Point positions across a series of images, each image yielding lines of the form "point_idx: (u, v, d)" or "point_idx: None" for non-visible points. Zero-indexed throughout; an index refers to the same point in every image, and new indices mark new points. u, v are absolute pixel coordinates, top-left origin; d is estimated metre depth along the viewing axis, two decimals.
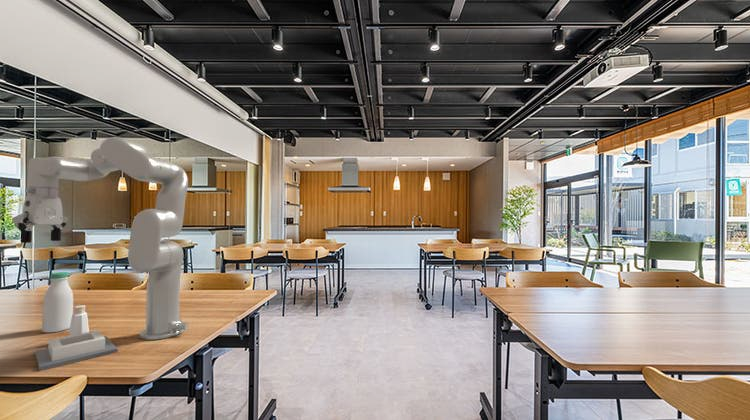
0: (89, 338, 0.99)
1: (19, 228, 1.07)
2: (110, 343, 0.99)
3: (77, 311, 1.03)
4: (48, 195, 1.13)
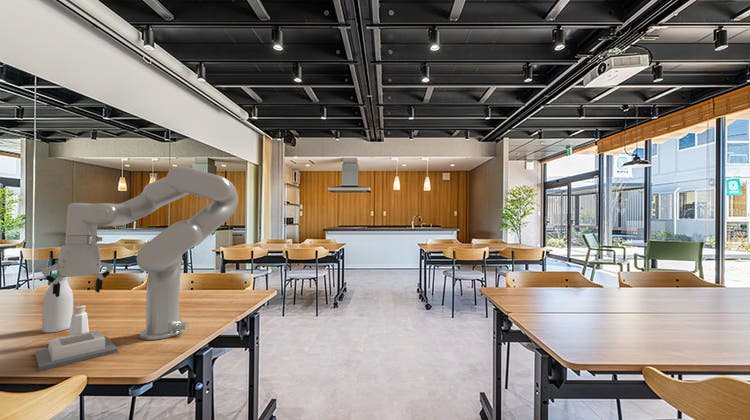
0: (89, 338, 0.99)
1: None
2: (110, 343, 0.99)
3: (77, 311, 1.03)
4: None
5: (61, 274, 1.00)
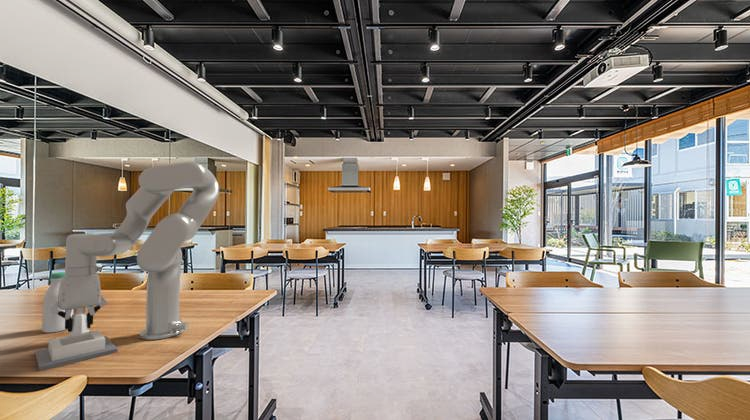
0: (89, 338, 0.99)
1: None
2: (110, 343, 0.99)
3: (77, 311, 1.03)
4: None
5: (61, 307, 1.00)
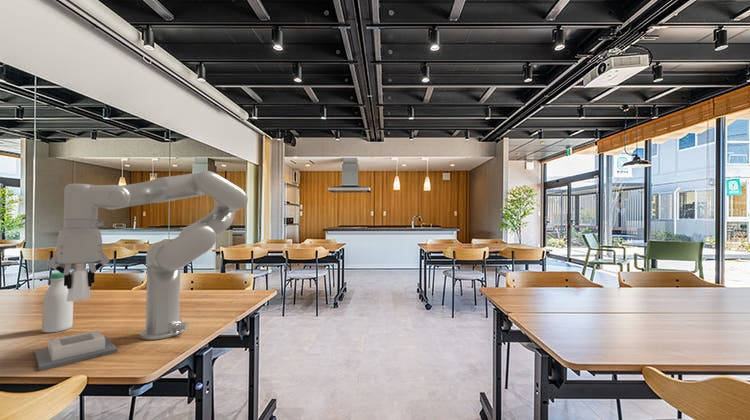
0: (89, 338, 0.99)
1: (97, 269, 0.99)
2: (110, 343, 0.99)
3: (77, 267, 0.95)
4: None
5: (60, 261, 0.92)
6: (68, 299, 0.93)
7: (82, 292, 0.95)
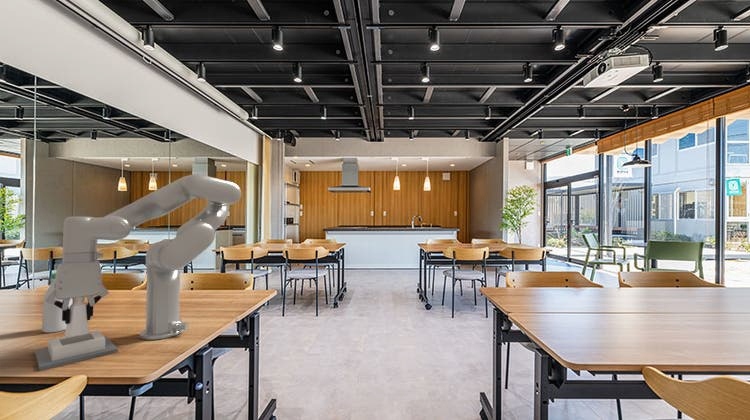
0: (89, 338, 0.99)
1: None
2: (110, 343, 0.99)
3: (76, 301, 0.94)
4: None
5: (58, 296, 0.90)
6: (66, 334, 0.92)
7: (81, 327, 0.93)
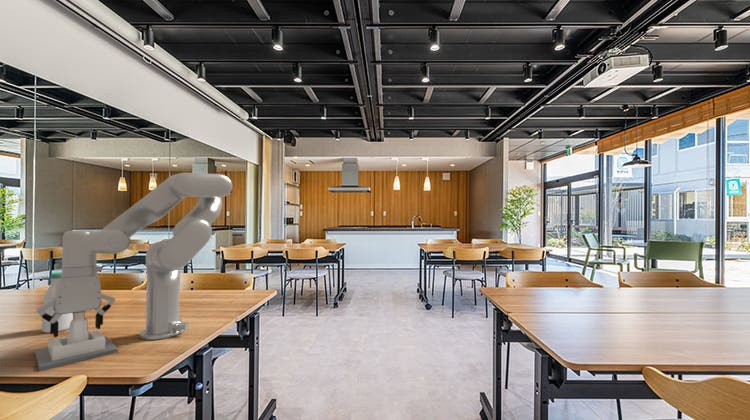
0: (89, 338, 0.99)
1: None
2: (110, 343, 0.99)
3: (76, 317, 0.94)
4: None
5: (58, 311, 0.90)
6: None
7: None
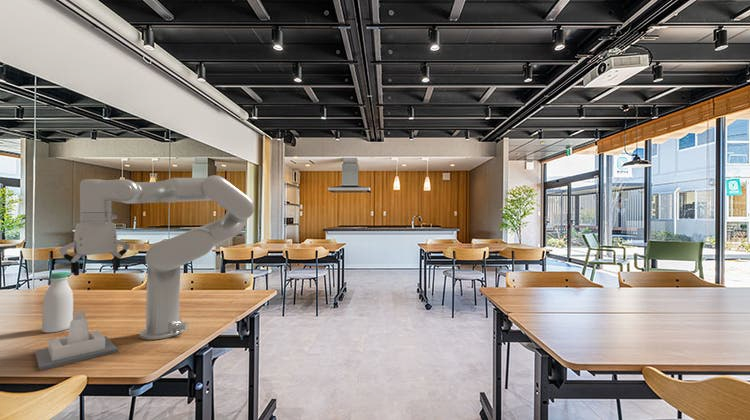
0: (89, 338, 0.99)
1: None
2: (110, 343, 0.99)
3: (76, 317, 0.94)
4: None
5: (79, 252, 0.98)
6: None
7: None
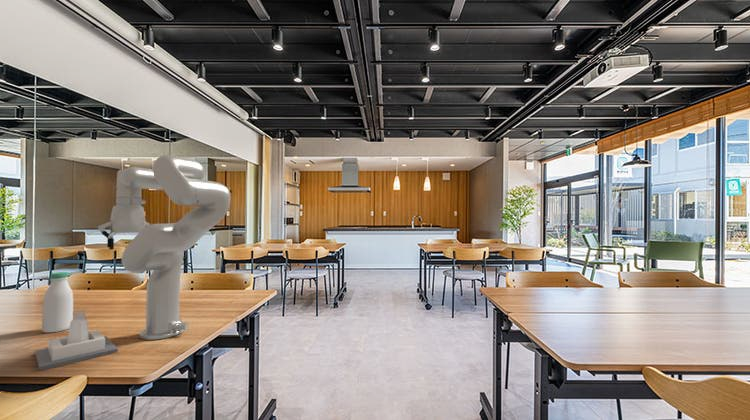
0: (89, 338, 0.99)
1: None
2: (110, 343, 0.99)
3: (76, 317, 0.94)
4: None
5: (114, 230, 1.16)
6: None
7: None
